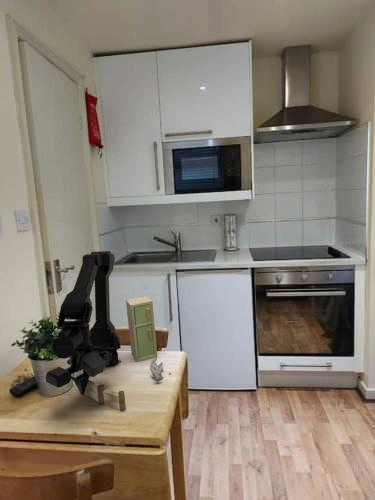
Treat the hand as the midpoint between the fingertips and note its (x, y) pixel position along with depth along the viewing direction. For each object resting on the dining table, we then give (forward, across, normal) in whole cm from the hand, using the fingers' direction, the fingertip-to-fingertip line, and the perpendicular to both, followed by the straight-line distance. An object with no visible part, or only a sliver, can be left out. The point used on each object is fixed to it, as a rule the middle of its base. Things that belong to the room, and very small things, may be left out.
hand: (82, 394), depth 100 cm
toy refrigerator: (+1, +29, +3) cm, 29 cm away
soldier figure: (+1, +22, -10) cm, 24 cm away
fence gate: (+1, +2, -1) cm, 3 cm away
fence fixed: (+2, +2, -10) cm, 10 cm away
